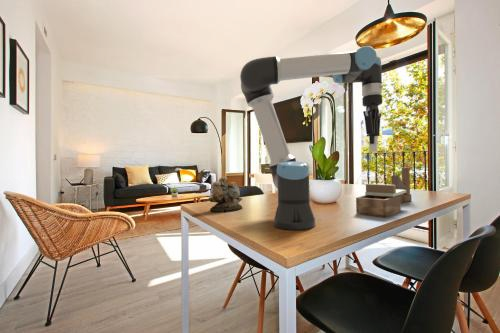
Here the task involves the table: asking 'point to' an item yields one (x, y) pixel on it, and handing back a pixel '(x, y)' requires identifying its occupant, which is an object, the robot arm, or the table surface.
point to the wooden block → (403, 184)
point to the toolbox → (378, 205)
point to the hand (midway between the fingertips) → (373, 151)
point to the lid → (383, 190)
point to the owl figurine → (225, 196)
